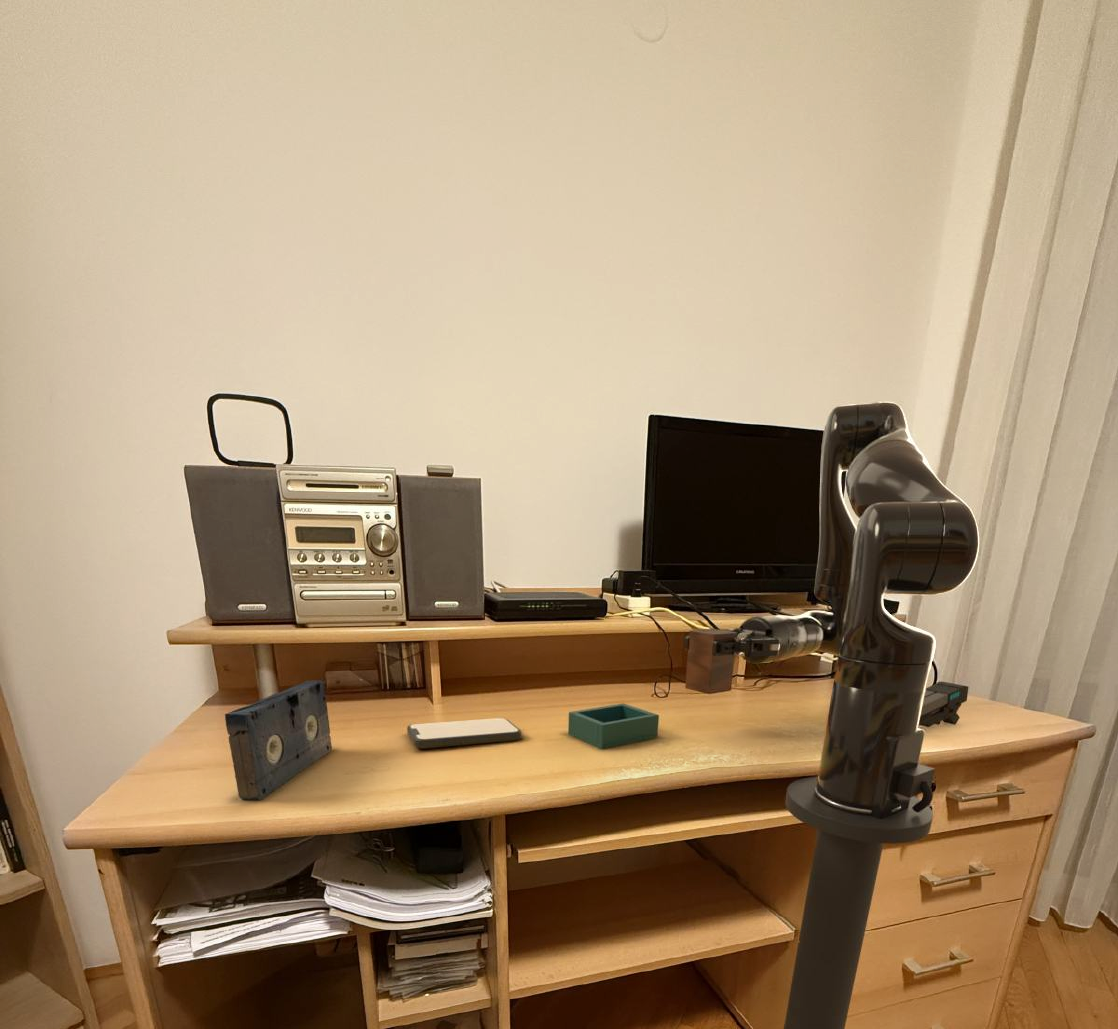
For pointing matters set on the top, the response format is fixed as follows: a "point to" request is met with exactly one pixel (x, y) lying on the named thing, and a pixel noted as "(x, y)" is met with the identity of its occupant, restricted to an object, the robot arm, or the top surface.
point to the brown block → (708, 662)
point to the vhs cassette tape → (278, 738)
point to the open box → (613, 725)
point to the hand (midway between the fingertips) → (700, 645)
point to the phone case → (462, 732)
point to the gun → (942, 703)
